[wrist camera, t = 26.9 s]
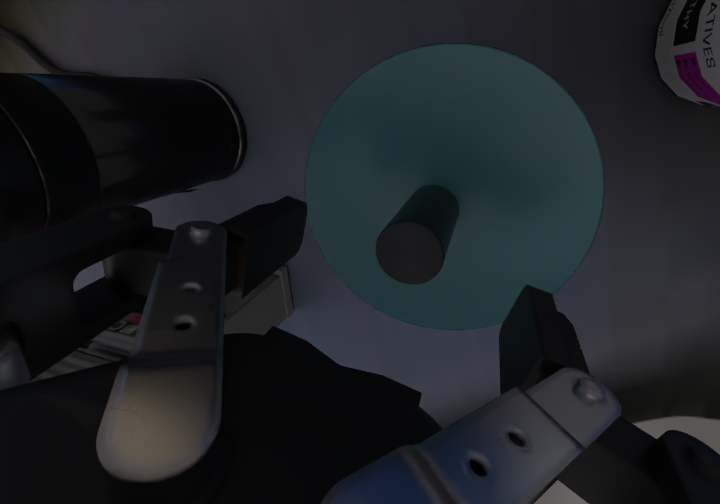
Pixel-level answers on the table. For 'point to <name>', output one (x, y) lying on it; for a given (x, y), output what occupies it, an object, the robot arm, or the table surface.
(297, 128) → the table surface
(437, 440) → the robot arm
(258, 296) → the cassette tape recorder
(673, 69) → the supplement can
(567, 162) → the tin lid
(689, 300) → the table surface
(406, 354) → the table surface
